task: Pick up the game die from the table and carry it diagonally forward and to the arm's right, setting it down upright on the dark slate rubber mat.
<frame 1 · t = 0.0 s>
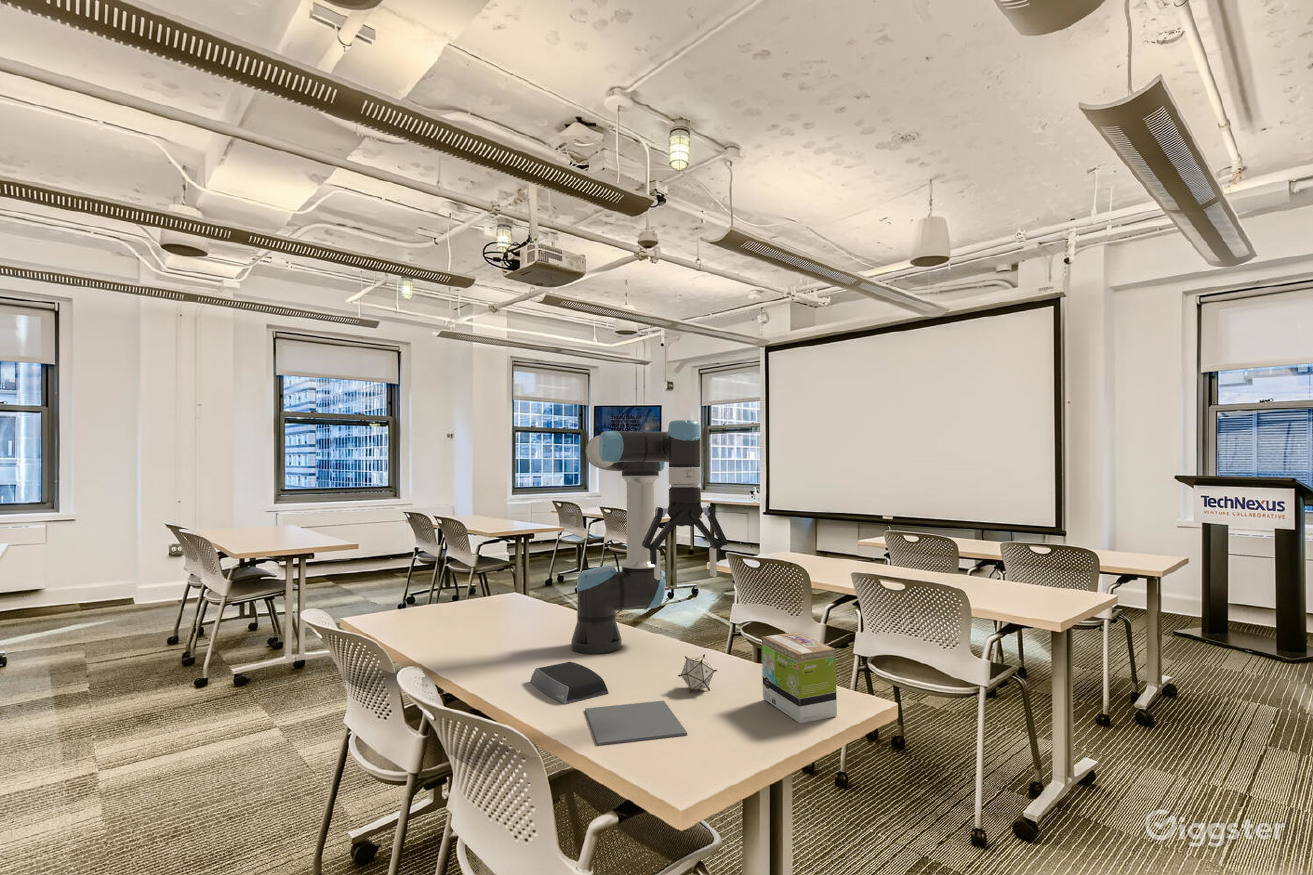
hand: (685, 577, 143), 28 cm above the table, tool pointing down, fingers open, 13 cm apart
tea box: (798, 709, 136), on the table
game die: (697, 690, 148), on the table
external hard drive: (568, 690, 151), on the table
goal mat: (633, 722, 129), on the table
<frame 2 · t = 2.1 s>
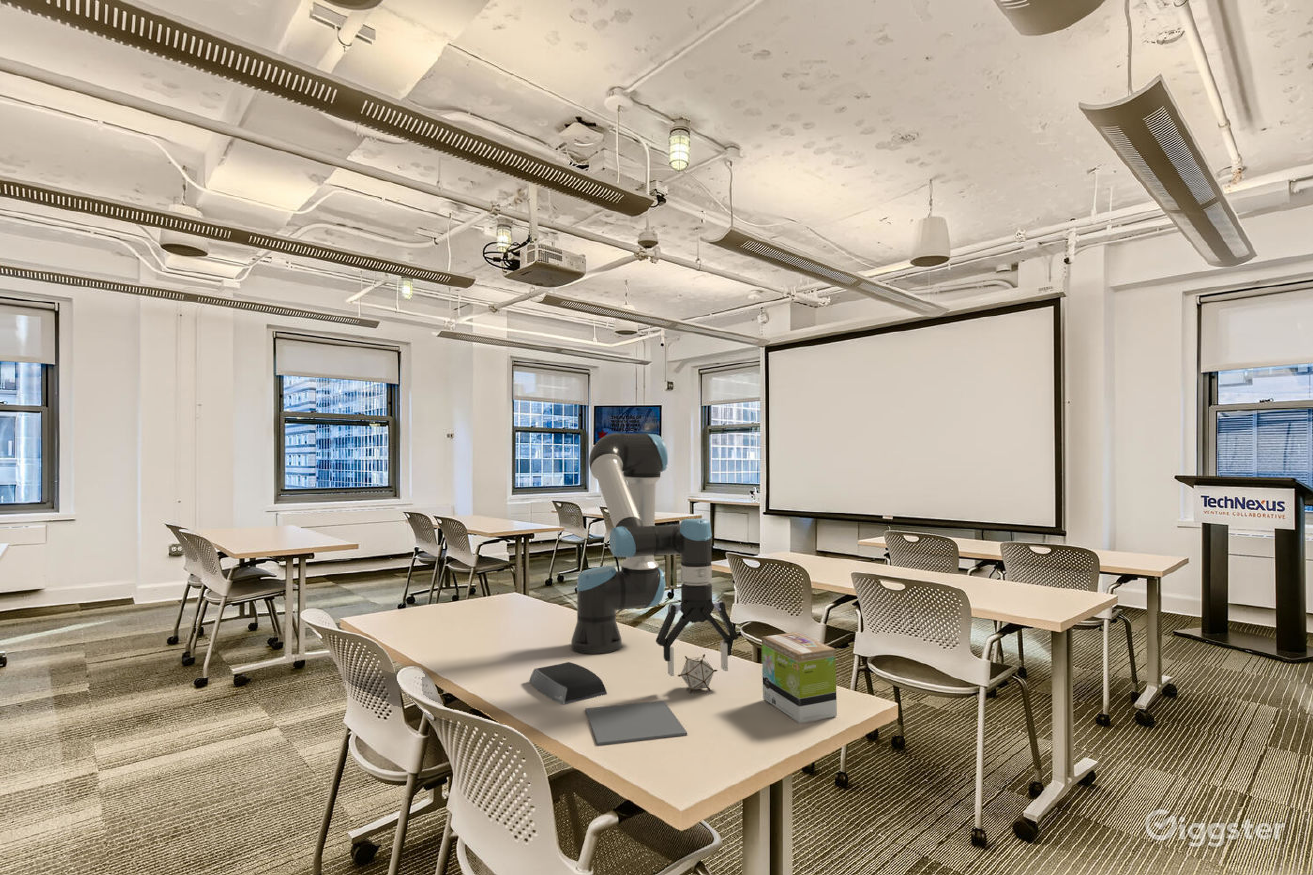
hand: (697, 672, 148), 4 cm above the table, tool pointing down, fingers open, 13 cm apart
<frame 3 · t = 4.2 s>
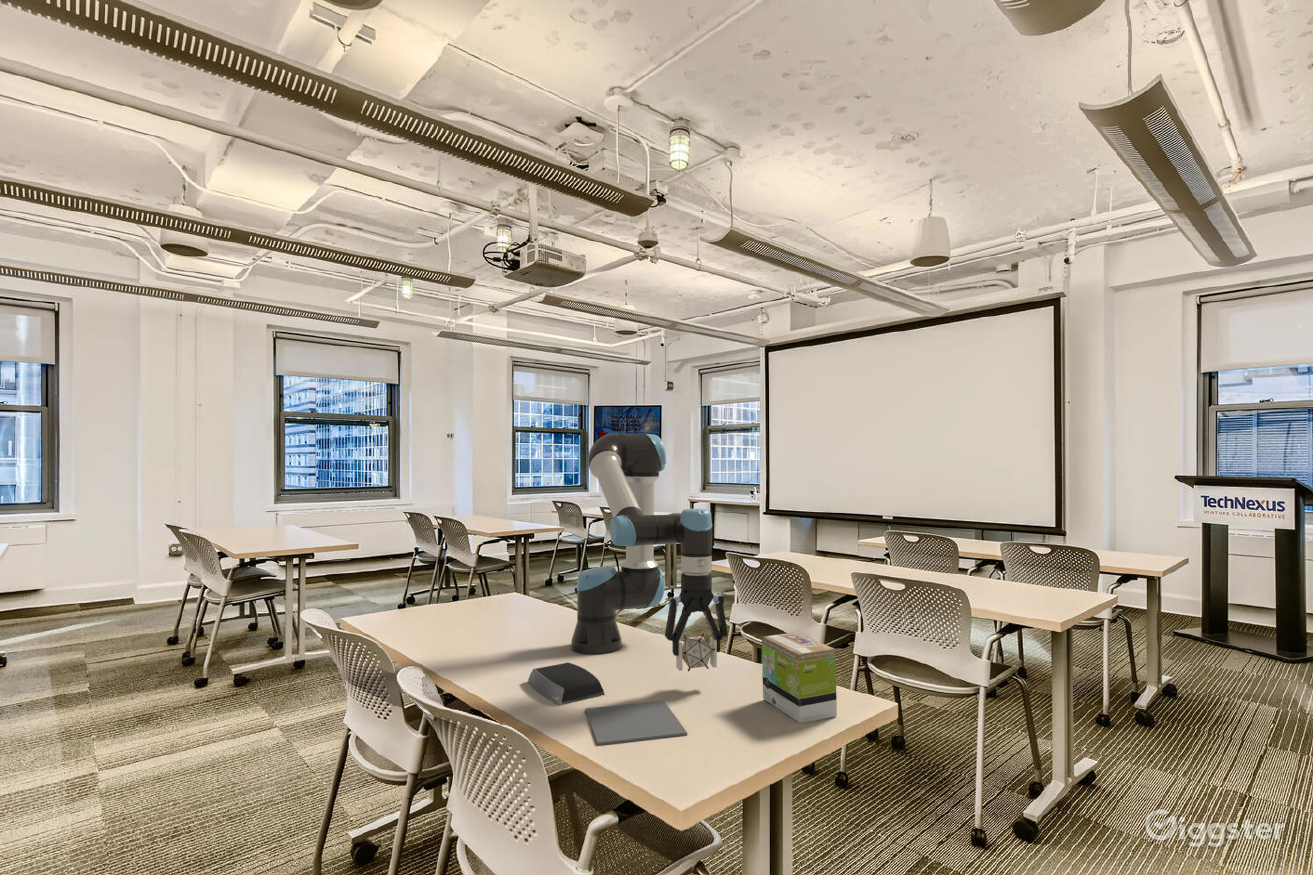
hand: (696, 667, 149), 5 cm above the table, tool pointing down, fingers closed on game die, 8 cm apart
game die: (696, 669, 149), point 5 cm above the table, touching gripper
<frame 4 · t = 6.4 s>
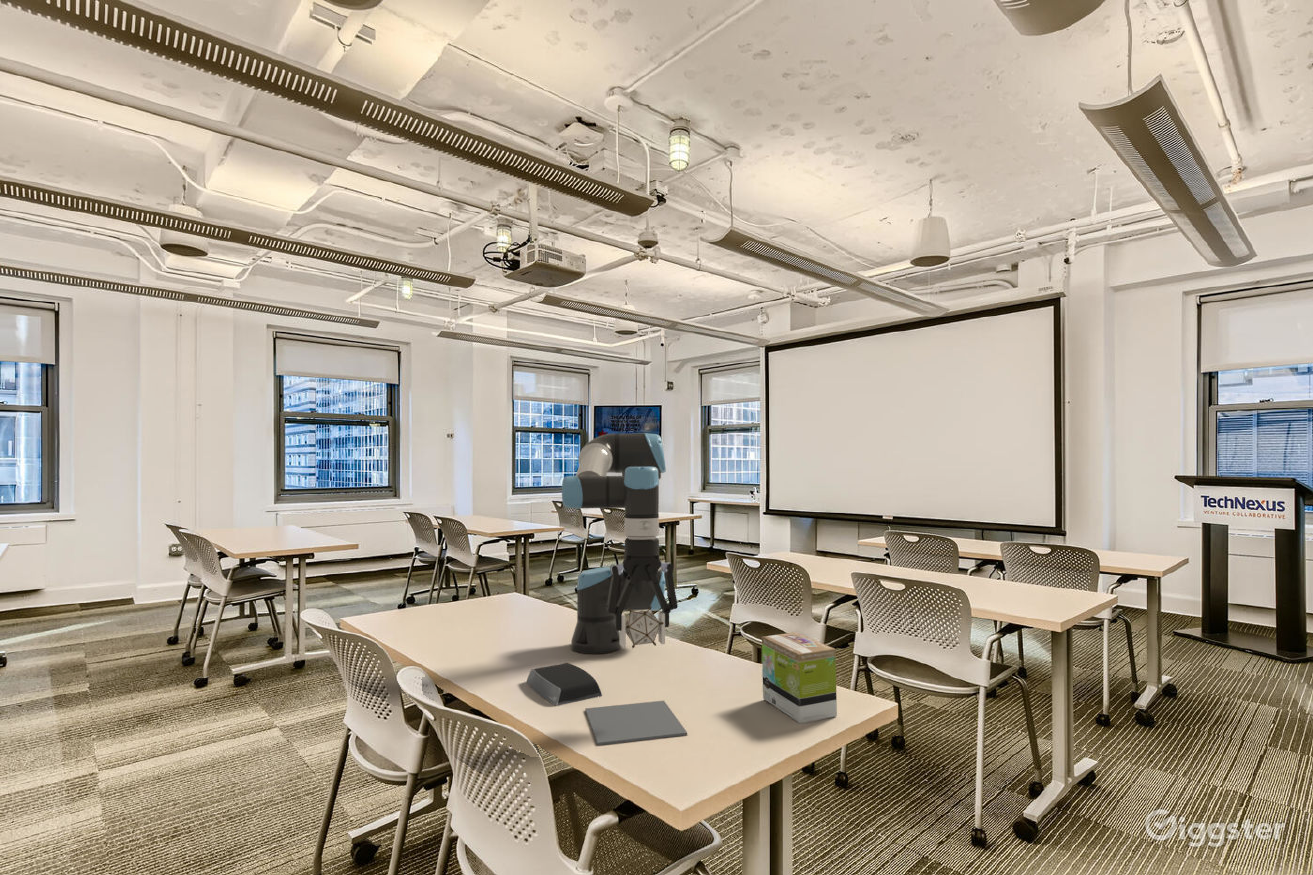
hand: (642, 643, 132), 16 cm above the table, tool pointing down, fingers closed on game die, 8 cm apart
game die: (642, 646, 132), point 15 cm above the table, touching gripper
when the fingers open (2 cm above the table, at t = 8.9 s): game die stays where it is, resting on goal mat.
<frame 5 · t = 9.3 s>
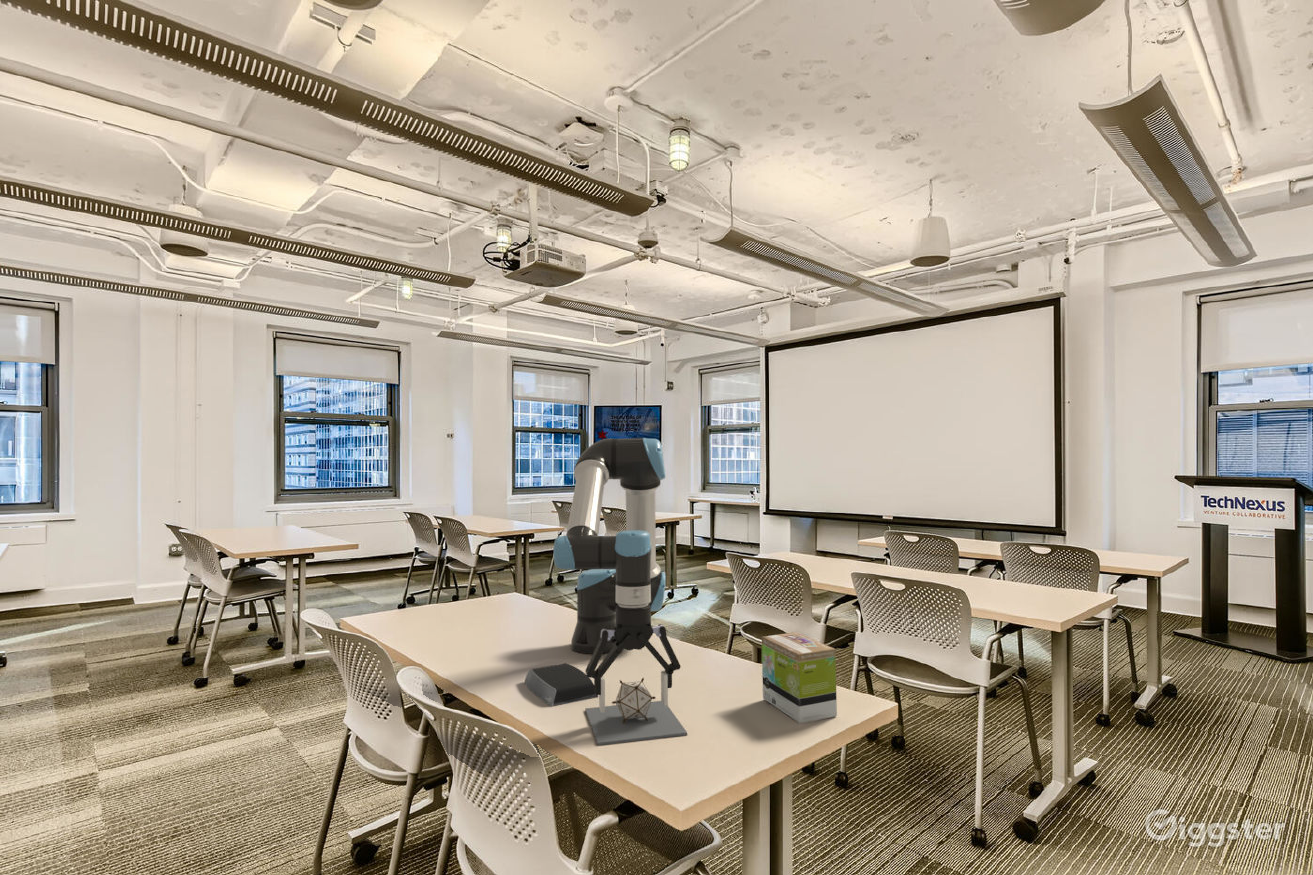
hand: (633, 707, 129), 3 cm above the table, tool pointing down, fingers open, 13 cm apart
game die: (633, 720, 129), resting on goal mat
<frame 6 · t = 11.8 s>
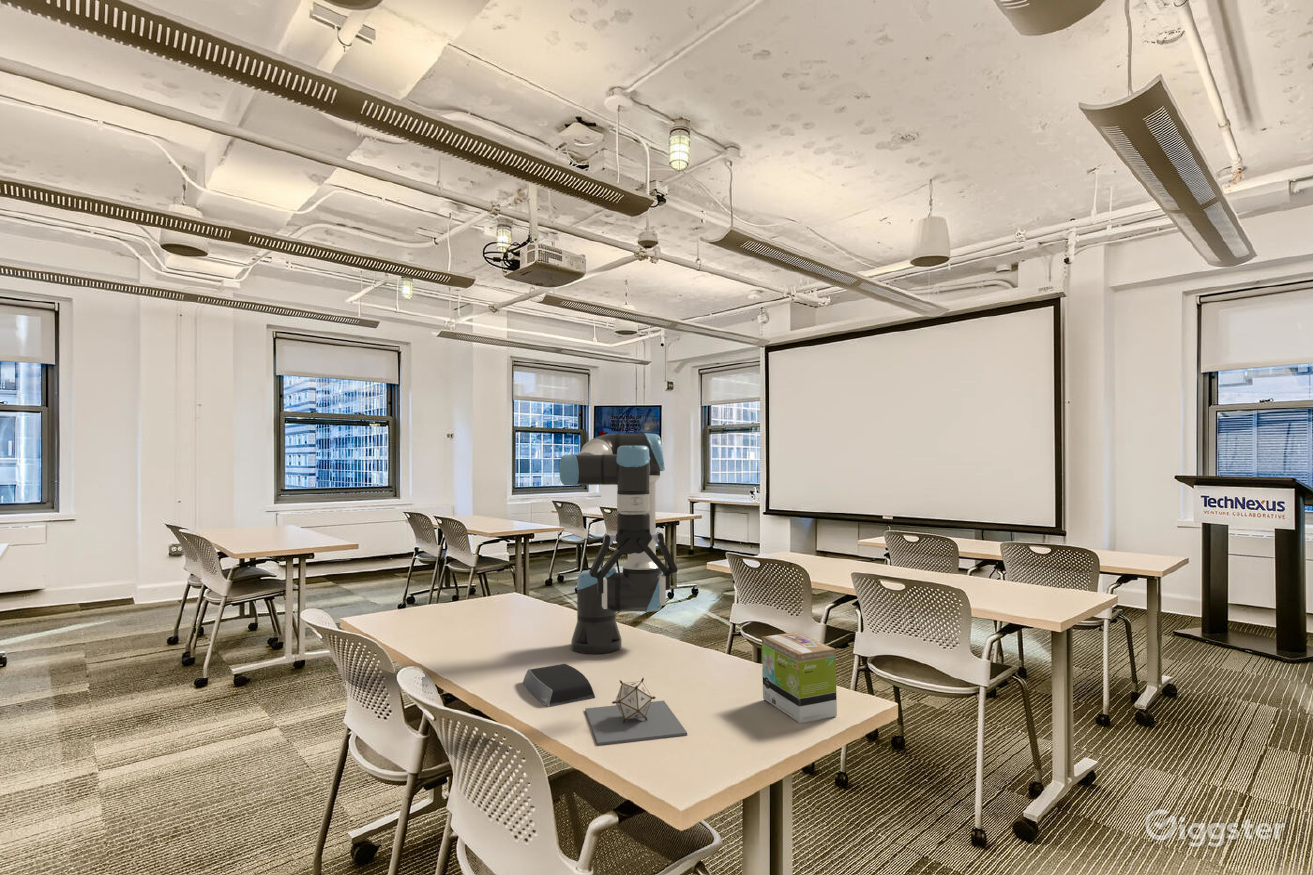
hand: (633, 605, 140), 22 cm above the table, tool pointing down, fingers open, 13 cm apart
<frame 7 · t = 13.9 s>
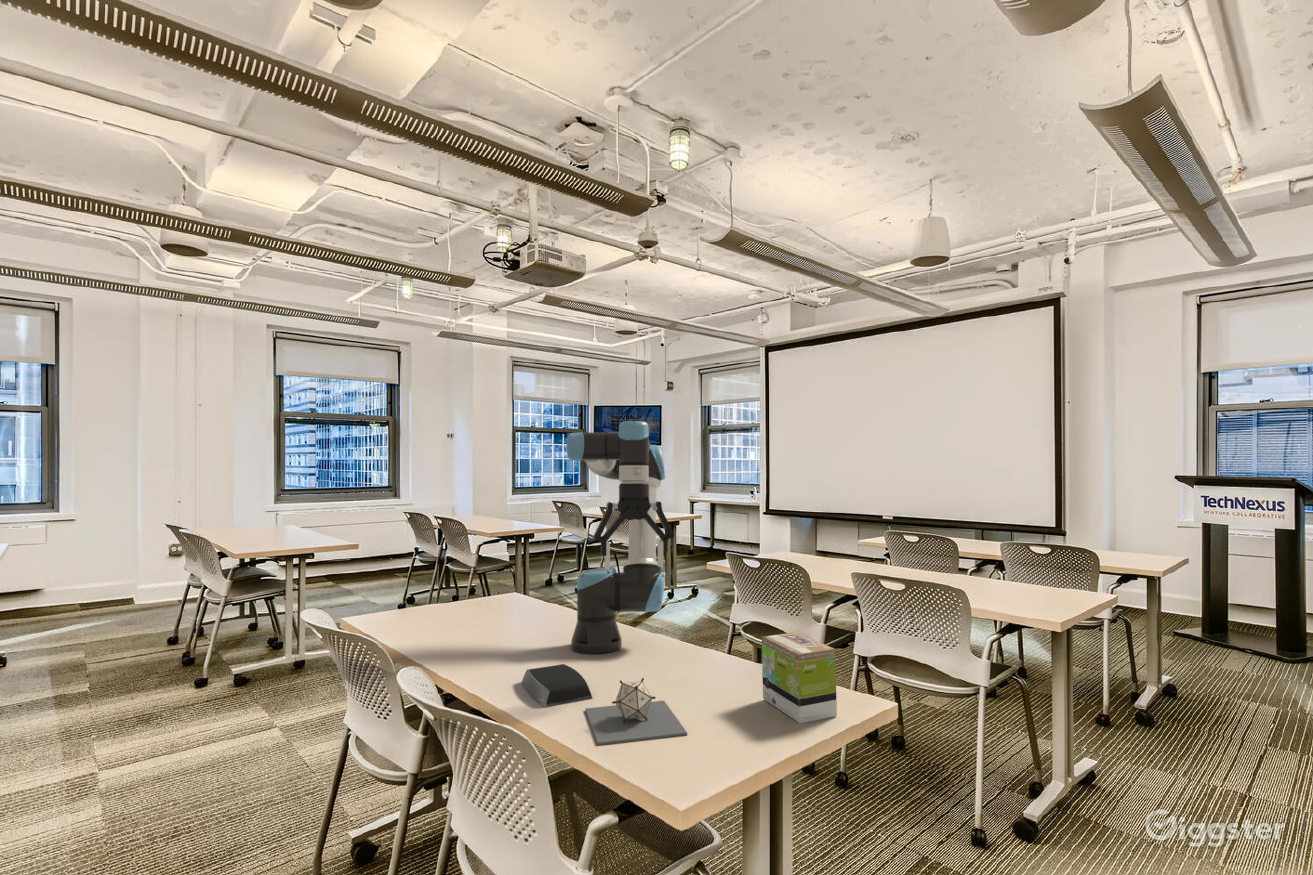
hand: (634, 568, 153), 29 cm above the table, tool pointing down, fingers open, 13 cm apart
at the end: game die inside the target area on the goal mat (0.2 cm from its centre), point 0.3 cm above the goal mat's base; game die tilted 1°; the gripper is holding nothing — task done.
